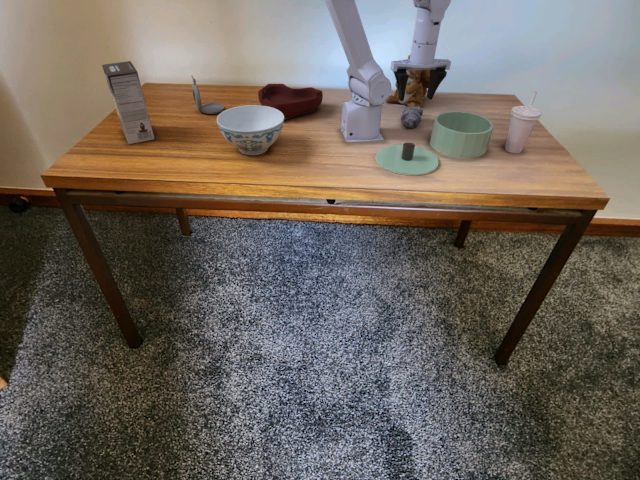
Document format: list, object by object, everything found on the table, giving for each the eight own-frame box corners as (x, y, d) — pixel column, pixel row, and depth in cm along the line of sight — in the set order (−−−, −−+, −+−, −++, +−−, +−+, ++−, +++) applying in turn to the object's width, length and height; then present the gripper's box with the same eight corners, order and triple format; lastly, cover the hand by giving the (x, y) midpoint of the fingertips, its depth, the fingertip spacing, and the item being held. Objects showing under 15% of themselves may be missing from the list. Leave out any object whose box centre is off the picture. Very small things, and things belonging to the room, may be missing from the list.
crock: (442, 161, 91) (448, 135, 87) (421, 136, 101) (426, 112, 97) (495, 158, 92) (504, 132, 88) (470, 134, 103) (476, 110, 99)
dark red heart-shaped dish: (245, 118, 108) (243, 99, 105) (269, 98, 120) (268, 81, 117) (307, 127, 104) (306, 108, 101) (325, 106, 116) (326, 88, 113)
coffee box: (121, 130, 100) (100, 63, 90) (147, 126, 103) (130, 60, 93) (128, 145, 94) (106, 75, 84) (156, 139, 97) (138, 70, 87)
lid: (385, 180, 84) (387, 161, 81) (368, 150, 94) (370, 133, 92) (447, 176, 86) (452, 158, 83) (424, 147, 96) (427, 130, 94)
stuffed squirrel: (383, 102, 119) (388, 55, 111) (411, 92, 127) (419, 47, 118) (410, 112, 114) (418, 63, 105) (438, 100, 121) (447, 54, 113)
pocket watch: (229, 109, 113) (224, 73, 106) (207, 119, 107) (201, 81, 101) (208, 103, 116) (202, 67, 110) (186, 112, 110) (178, 75, 104)
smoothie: (514, 158, 93) (535, 98, 84) (493, 147, 97) (511, 88, 88) (532, 152, 95) (555, 93, 86) (511, 142, 99) (531, 84, 91)
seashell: (409, 122, 111) (407, 138, 104) (399, 106, 109) (396, 121, 101) (426, 112, 108) (425, 127, 101) (416, 95, 106) (415, 110, 99)
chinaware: (268, 169, 87) (266, 135, 82) (208, 156, 90) (203, 124, 85) (295, 141, 98) (294, 110, 93) (241, 131, 101) (237, 101, 96)
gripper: (447, 36, 97) (436, 92, 106) (390, 38, 96) (383, 94, 104) (459, 44, 92) (446, 102, 101) (399, 45, 90) (391, 104, 99)
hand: (415, 99), depth 102 cm, fingers open, 7 cm apart
